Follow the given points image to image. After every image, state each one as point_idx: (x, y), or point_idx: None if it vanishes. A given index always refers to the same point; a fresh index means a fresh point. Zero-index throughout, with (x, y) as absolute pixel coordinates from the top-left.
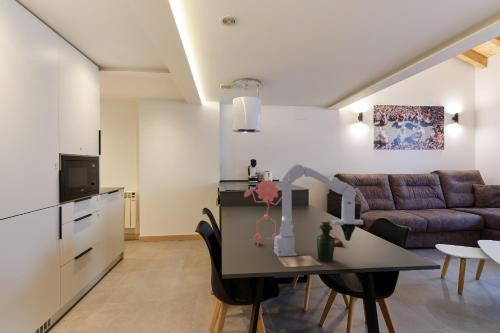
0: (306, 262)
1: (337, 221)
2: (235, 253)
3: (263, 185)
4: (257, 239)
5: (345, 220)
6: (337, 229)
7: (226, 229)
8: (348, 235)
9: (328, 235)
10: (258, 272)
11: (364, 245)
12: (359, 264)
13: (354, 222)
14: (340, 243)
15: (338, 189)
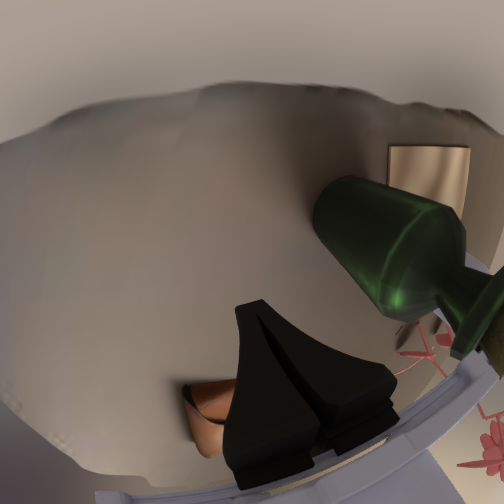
0: (422, 177)
1: (485, 393)
2: (489, 252)
3: None
4: (450, 330)
5: (433, 460)
6: (160, 475)
7: (426, 384)
8: (281, 329)
9: (451, 266)
10: (499, 134)
11: (83, 402)
12: (176, 146)
13: (330, 501)
14: (194, 397)
15: None
